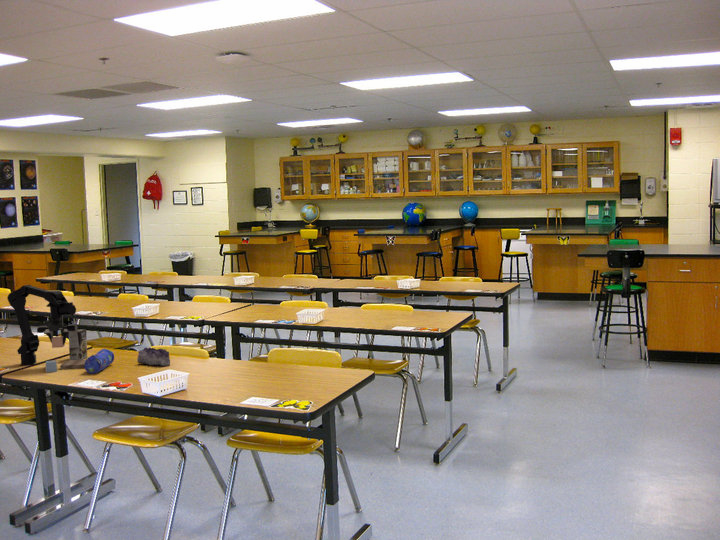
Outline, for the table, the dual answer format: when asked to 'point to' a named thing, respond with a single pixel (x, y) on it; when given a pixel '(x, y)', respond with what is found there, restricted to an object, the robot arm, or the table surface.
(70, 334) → the coffee box
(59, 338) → the terracotta block
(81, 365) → the plinth
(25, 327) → the robot arm
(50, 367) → the slate block
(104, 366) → the pencil case
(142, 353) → the geode
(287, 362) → the table surface
